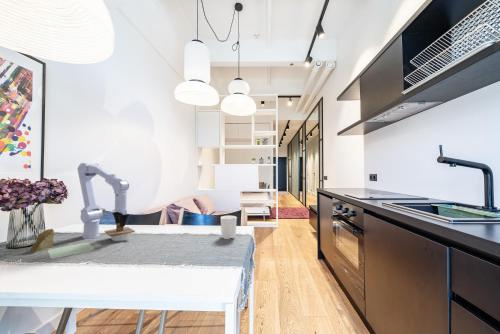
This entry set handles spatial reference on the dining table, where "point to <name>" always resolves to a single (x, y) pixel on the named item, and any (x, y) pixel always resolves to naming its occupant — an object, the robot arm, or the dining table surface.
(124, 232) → the lid
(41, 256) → the dining table surface
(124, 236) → the ramekin
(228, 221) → the candle holder
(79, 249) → the mat
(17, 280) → the dining table surface
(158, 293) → the dining table surface
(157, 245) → the dining table surface
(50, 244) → the rock
